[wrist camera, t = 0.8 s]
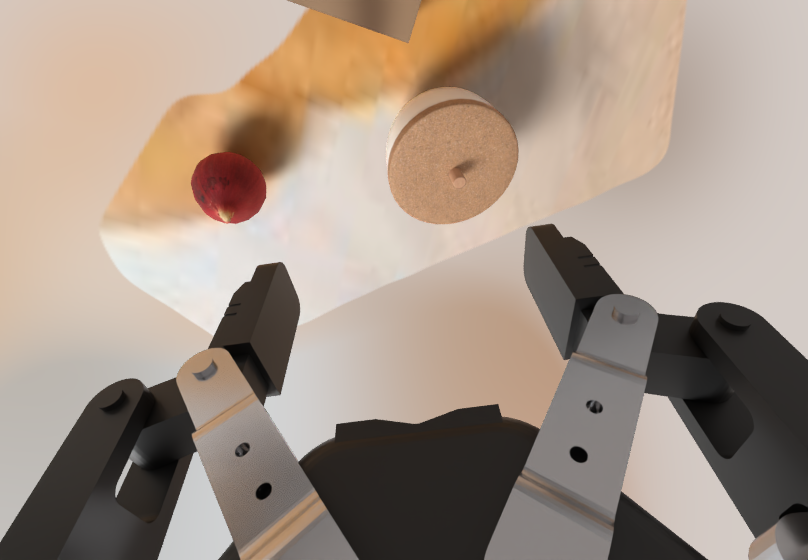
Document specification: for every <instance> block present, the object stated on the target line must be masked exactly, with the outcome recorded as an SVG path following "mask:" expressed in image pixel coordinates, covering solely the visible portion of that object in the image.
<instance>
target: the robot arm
mask: <svg viewBox="0 0 808 560" xmlns="http://www.w3.org/2000/svg"><path fill="white" fill-rule="evenodd" d="M524 276H525V280H526V283H527V286H528V288H529V290H530V292H531V294H532V296H533V298H534V300H535V302H536V304H537V306H538V308H539V310H540V312H541V314H542V316H543V318H544V320H545V323H546V325H547V326H548V329H549V330H550V333H551V335H552V337H553V339H554V341H555V343H556V345H557V347H558V349H559V351H560V353H561V355H562V357H563V359H564V360H567V359H570V360H569V362H568V364H567V367H566V369H565V372H564V374H563V376H562V379H561V381H560V383H559V386H558V388H557V391H556V393H555V396H554V398H553V400H552V403H551V405H550V407H549V410H548V412H547V414H546V417H545V419H544V421H543V424H542V426H541V428H540V429H539V428H537V427H535V426H532V425H530V424H528V423H526V422H523V421H520V420H517V419H513V418H508V417H502V416H501V413H500V409H499V406H498V404H495V405H487V406H479V407H471V408H463V409H457V410H454V411H452V412H449V413H446V414H444V415H441V416H438V417H436V418H433V419H430V420H428V421H425V422H422V423H420V424H410V423H401V422H393V421H385V420H377V419H374V420H365V421H358V422H349V423H341V424H336V433H335V438H332V439H330V440H328V441H326V442H324V443H322V444H320V445H319V446H317V447H316V448H314V449H312V450H311V451H310V452H309V453H308V454H306V455H305V456H304V457H303V458H302V459H301V460H300V461H298V460H297V458H296V457H295V455H294V454H293V452H292V450H291V449H290V447H289V446H288V444H287V442H286V441H285V439H284V438H283V436H282V435H281V433H280V432H279V430H278V428H277V427H276V425H275V423H274V422H273V420H272V419H271V417H270V416H269V414H268V412H267V411H266V409H265V408H264V403H265V399H266V397H269V396H277V395H280V394H281V390H282V386H283V382H284V377H285V374H286V370H287V365H288V361H289V357H290V353H291V349H292V344H293V340H294V336H295V332H296V328H297V324H298V320H299V316H300V303H299V299H298V296H297V293H296V291H295V289H294V286H293V284H292V281H291V279H290V277H289V274H288V272H287V269H286V267H285V265H284V264H283V263H282V262H278V263H271V264H264V265H259V266H257V268H256V270H255V272H254V275H253V277H252V279H251V282H245V283H244V284H243V285H242V286H241V287H240V288H239V289H238V290H237V291H236V292H235V293H234V295H233V297H232V299H231V301H230V303H229V307H227V309H226V312H225V314H224V317H223V318H222V320H221V322H220V324H219V326H218V329H217V331H216V333H215V335H214V337H213V339H212V341H211V343H210V346H209V348H208V349H207V350H204V351H202V352H199V353H198V354H196V355H194V356H193V357H191V358H190V359H189V360H188V361H187V362H185V364H184V365H183V366H182V367H181V369H180V370H179V372H178V374H177V377H176V378H174V379H171V380H168V381H165V382H163V383H160V384H158V385H155V386H153V387H150V388H147V387H146V386H145V385H144V384H143V383H142V382H141V381H140V380H138V379H125V380H121V381H118V382H116V383H113V384H111V385H110V386H108V387H106V388H105V389H103V390H102V391H101V392H99V393H98V394H97V395H96V396H95V397H94V398H93V399H92V400H91V401H90V402H89V404H88V405H87V406H86V408H85V409H84V411H83V413H82V414H81V416H80V417H79V419H78V420H77V422H76V424H75V425H74V427H73V428H72V430H71V431H70V433H69V435H68V436H67V438H66V439H65V441H64V443H63V444H62V446H61V447H60V449H59V450H58V452H57V454H56V455H55V457H54V458H53V460H52V461H51V463H50V465H49V466H48V468H47V470H46V471H45V472H44V474H43V476H42V477H41V479H40V481H39V482H38V484H37V485H36V487H35V488H34V490H33V491H32V493H31V495H30V496H29V498H28V499H27V501H26V503H25V504H24V506H23V507H22V509H21V510H20V512H19V514H18V515H17V517H16V518H15V520H14V522H13V523H12V525H11V526H10V528H9V529H8V531H7V533H6V534H5V536H4V537H3V539H2V541H1V542H0V560H157V559H158V556H159V553H160V550H161V547H162V545H163V542H164V538H165V536H166V533H167V529H168V527H169V524H170V521H171V518H172V515H173V512H174V509H175V506H176V503H177V500H178V497H179V494H180V491H181V488H182V485H183V483H184V480H185V477H186V474H187V471H188V468H189V465H190V462H191V459H192V456H193V453H194V452H197V451H198V453H199V456H200V458H201V461H202V463H203V466H204V468H205V471H206V473H207V476H208V478H209V481H210V483H211V486H212V488H213V491H214V493H215V496H216V498H217V501H218V503H219V506H220V508H221V511H222V513H223V516H224V518H225V521H226V523H227V526H228V528H229V531H230V533H231V536H232V538H233V542H232V543H231V545H230V546H229V547H228V548H227V550H226V551H225V552H224V553H223V555H222V556H221V557H220V558H219V559H218V560H708V559H706V558H705V557H704V556H702V555H701V554H700V553H699V552H698V551H696V550H695V549H694V548H693V547H691V546H690V545H688V544H687V543H686V542H685V541H684V540H682V539H681V538H680V537H679V536H677V535H676V534H675V533H673V532H672V531H671V530H670V529H668V528H667V527H666V526H665V525H663V524H662V523H661V522H660V521H658V520H657V519H656V518H654V517H653V516H652V515H650V514H649V513H648V512H647V511H646V510H644V509H643V508H642V507H640V506H639V505H638V504H637V503H635V502H634V501H633V500H632V499H630V498H629V497H628V496H626V495H625V494H624V493H623V492H621V489H622V485H623V481H624V476H625V472H626V468H627V464H628V459H629V455H630V451H631V446H632V442H633V438H634V434H635V430H636V425H637V421H638V417H639V413H640V408H641V404H642V400H643V396H644V393H648V394H655V395H661V396H668V398H669V400H670V401H671V403H672V404H673V406H674V408H675V409H676V411H677V412H678V414H679V415H680V417H681V419H682V421H683V422H684V424H685V425H686V427H687V429H688V430H689V432H690V433H691V435H692V437H693V438H694V440H695V442H696V443H697V445H698V446H699V448H700V450H701V451H702V453H703V454H704V456H705V458H706V459H707V461H708V462H709V464H710V466H711V467H712V469H713V471H714V472H715V474H716V475H717V477H718V479H719V480H720V482H721V483H722V485H723V487H724V488H725V490H726V491H727V493H728V495H729V496H730V498H731V499H732V501H733V503H734V504H735V506H736V507H737V509H738V511H739V512H740V514H741V516H742V517H743V519H744V520H745V522H746V524H747V525H748V527H749V529H750V530H751V532H752V533H753V535H754V537H755V538H756V539H755V540H754V541H753V542H752V543H751V545H750V548H749V554H748V557H749V560H808V360H807V359H806V358H805V357H804V356H803V355H802V354H801V353H800V352H799V351H798V350H797V349H795V347H793V346H792V345H791V344H790V343H789V342H788V341H787V340H786V339H785V338H784V337H783V336H782V335H781V334H780V333H779V332H778V331H777V330H776V329H775V328H774V327H773V326H772V325H770V324H769V323H768V322H767V321H766V320H765V319H764V318H763V317H762V316H760V315H759V314H757V313H755V312H754V311H752V310H750V309H747V308H745V307H742V306H739V305H736V304H731V303H724V302H714V303H709V304H705V305H703V306H701V307H700V308H699V310H698V311H697V313H696V315H695V317H687V316H675V315H665V314H659V313H657V312H656V310H655V309H654V308H653V307H652V306H651V305H650V304H649V303H647V302H646V301H644V300H642V299H640V298H637V297H634V296H631V295H625V294H623V292H622V291H621V290H620V288H619V287H618V286H617V285H616V283H615V282H614V281H613V280H612V278H611V277H610V276H609V275H608V273H607V272H606V271H605V269H604V268H603V267H602V266H600V263H599V262H598V261H597V259H596V258H595V257H593V254H592V253H591V252H590V250H589V249H588V248H587V247H586V245H585V244H583V243H581V242H580V241H578V240H576V239H574V238H573V237H565V238H563V236H562V235H561V234H560V232H559V231H558V230H557V228H556V227H555V225H553V224H546V225H540V226H533V227H528V228H527V231H526V241H525V254H524ZM128 459H130V460H132V461H133V463H132V465H131V467H130V469H129V471H128V473H127V476H126V478H125V480H124V482H123V484H122V486H121V489H120V491H119V493H118V495H117V497H115V489H116V485H117V482H118V480H119V478H120V476H121V474H122V471H123V469H124V467H125V465H126V463H127V461H128Z"/></svg>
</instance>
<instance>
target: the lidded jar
mask: <svg viewBox="0 0 808 560" xmlns="http://www.w3.org/2000/svg"><path fill="white" fill-rule="evenodd" d="M517 162H518V143H517V138H516V135H515V132H514V130H513V129H512V127H511V125H510V123H509V122H508V121H507V120H506V119H505V117H504V116H503V115H502V114H501V113H500V112H499V111H497V110H496V109H495V108H494V107H493V106H492V105H491V104H490V103H488V102H487V101H486V100H485V99H483V98H482V97H480V96H479V95H477V94H475V93H473V92H471V91H468V90H465V89H462V88H458V87H439V88H435V89H431V90H428V91H425V92H423V93H421V94H419V95H417V96H416V97H414V98H413V99H412V100H410V101H409V102H408V103H407V104H406V105H405V106H404V107H403V108H402V109H401V111H400V112H399V113H398V115H397V116H396V118H395V119H394V121H393V124H392V126H391V128H390V131H389V135H388V139H387V145H386V165H387V171H388V180H389V185H390V189H391V192H392V194H393V196H394V199H395V200H396V202H397V203H398V205H399V206H400V207H401V208H402V209H403V210H404V211H405V212H406V213H408V214H409V215H410V216H412V217H414V218H416V219H418V220H420V221H424V222H427V223H433V224H451V223H457V222H461V221H464V220H467V219H470V218H472V217H474V216H476V215H478V214H480V213H481V212H483V211H485V210H486V209H488V208H489V207H490V206H491V205H492V204H493V203H495V202H496V201H497V200H498V199H499V197H500V196H501V195H502V194H503V193H504V191H505V190H506V188H507V187H508V185H509V184H510V182H511V180H512V178H513V175H514V173H515V170H516V166H517Z"/></svg>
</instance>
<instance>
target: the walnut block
mask: <svg viewBox="0 0 808 560" xmlns="http://www.w3.org/2000/svg"><path fill="white" fill-rule="evenodd" d="M288 1H291V2H293V3H296V4H299V5H302V6H305V7H307V8H310V9H313V10H316V11H319V12H322V13H324V14H327V15H330V16H333V17H336V18H339V19H341V20H344V21H347V22H350V23H353V24H356V25H358V26H361V27H364V28H367V29H370V30H373V31H375V32H378V33H381V34H384V35H387V36H390V37H392V38H395V39H398V40H401V41H404V42H406V43H409V40H410V36H411V33H412V30H413V26H414V23H415V20H416V16H417V13H418V10H419V6H420V3H421V0H288Z"/></svg>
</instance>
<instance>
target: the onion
mask: <svg viewBox="0 0 808 560" xmlns="http://www.w3.org/2000/svg"><path fill="white" fill-rule="evenodd" d="M191 186H192V190H193V194H194V197H195V200H196V201H197V203H198V204H199V205H200V207H201V208H202V209H203V211H204V212H205V213H206V214H207V215H208V216H210V217H211V218H213V219H215V220H217V221H220V222H223V223H226V224H228V223H235V224H236V223H240V222H243V221H246V220H249V219H250V218H251V217H253V216H254V215H255V214H257V213H258V212H259V211H260V209H261V207H262V205H263V203H264V201H265V199H266V183H265V180H264V177H263V175H262V173H261V170H260V169H259V168H258V167H257V166H256V165H255V164H254V163H252V162H251V161H250V160H249V159H247V158H245V157H243V156H242V155H240V154H236V153H231V152H223V153H216V154H211V155H209V156H208V157H206V158H204V159H203V160H201V161H200V162H199V163H198V165H197V166H196V169H195V171H194V173H193V176H192V180H191Z"/></svg>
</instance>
